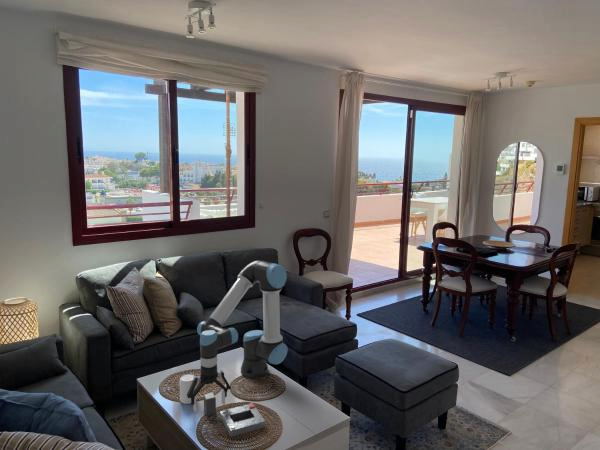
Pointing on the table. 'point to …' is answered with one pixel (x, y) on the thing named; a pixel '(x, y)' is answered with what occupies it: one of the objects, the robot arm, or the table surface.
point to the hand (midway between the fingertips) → (209, 406)
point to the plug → (209, 404)
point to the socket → (242, 419)
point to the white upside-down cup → (185, 387)
